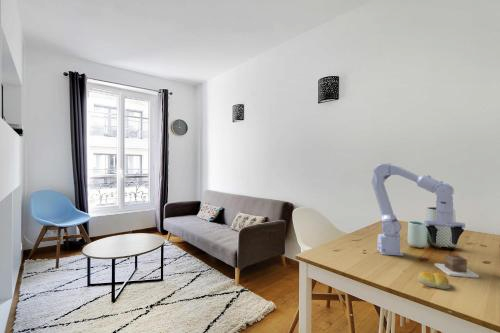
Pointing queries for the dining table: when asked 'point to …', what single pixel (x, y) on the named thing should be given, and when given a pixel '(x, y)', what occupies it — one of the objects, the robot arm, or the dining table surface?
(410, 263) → the dining table surface
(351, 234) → the dining table surface
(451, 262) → the walnut block
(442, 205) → the robot arm
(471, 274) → the grey tile
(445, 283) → the bread roll
